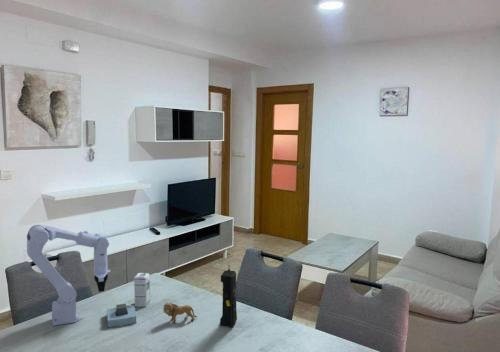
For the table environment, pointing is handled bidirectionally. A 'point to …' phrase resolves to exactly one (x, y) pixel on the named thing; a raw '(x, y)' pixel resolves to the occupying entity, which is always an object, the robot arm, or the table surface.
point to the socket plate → (121, 317)
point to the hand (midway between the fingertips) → (101, 291)
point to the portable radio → (228, 299)
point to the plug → (120, 309)
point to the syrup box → (142, 289)
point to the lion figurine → (178, 311)
